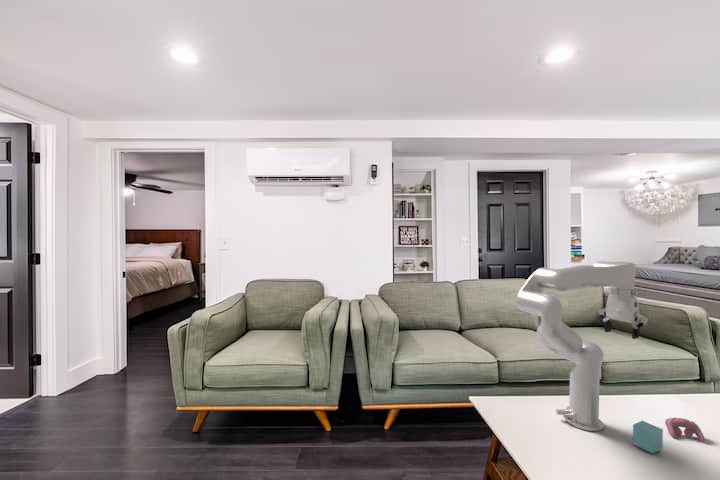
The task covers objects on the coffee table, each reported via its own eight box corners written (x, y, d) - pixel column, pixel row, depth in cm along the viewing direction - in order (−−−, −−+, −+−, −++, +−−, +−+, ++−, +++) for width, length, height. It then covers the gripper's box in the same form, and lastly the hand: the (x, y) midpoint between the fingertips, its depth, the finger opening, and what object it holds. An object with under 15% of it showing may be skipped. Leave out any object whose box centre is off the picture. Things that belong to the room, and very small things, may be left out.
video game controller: (699, 442, 121) (694, 420, 124) (707, 443, 118) (701, 420, 120) (665, 436, 124) (661, 415, 127) (672, 437, 121) (667, 415, 123)
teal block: (653, 453, 111) (653, 433, 111) (632, 443, 116) (633, 424, 116) (662, 448, 113) (662, 429, 113) (641, 439, 119) (642, 420, 118)
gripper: (653, 295, 130) (652, 339, 130) (604, 288, 145) (603, 328, 146) (642, 296, 127) (641, 342, 127) (593, 289, 142) (592, 330, 143)
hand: (621, 334), depth 136 cm, fingers open, 9 cm apart
